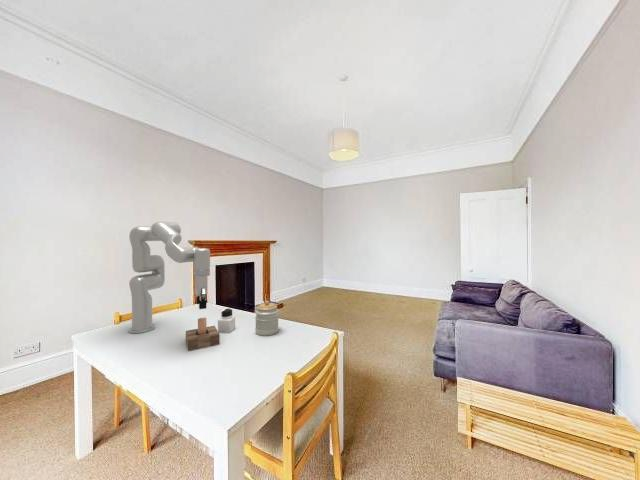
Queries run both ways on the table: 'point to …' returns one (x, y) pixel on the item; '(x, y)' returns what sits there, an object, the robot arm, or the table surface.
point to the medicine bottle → (226, 321)
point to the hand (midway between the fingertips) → (201, 306)
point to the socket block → (202, 338)
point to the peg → (201, 326)
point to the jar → (266, 319)
